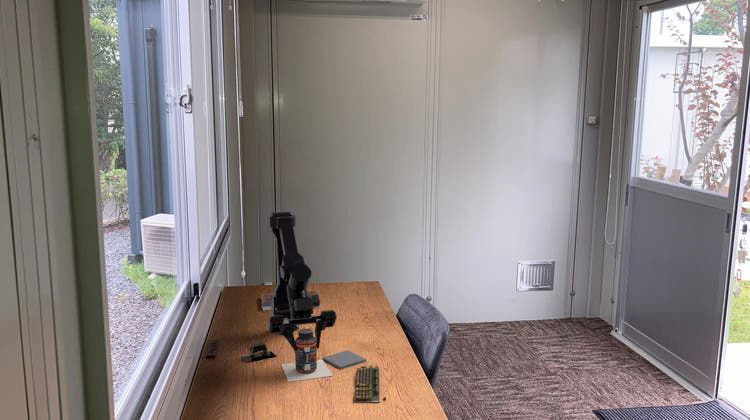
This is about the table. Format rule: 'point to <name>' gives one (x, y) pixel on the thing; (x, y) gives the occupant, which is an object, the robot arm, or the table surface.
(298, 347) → the supplement bottle
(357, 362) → the slate coaster
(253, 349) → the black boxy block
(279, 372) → the table surface
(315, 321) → the robot arm
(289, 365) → the card
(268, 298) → the picture frame
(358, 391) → the keyboard
